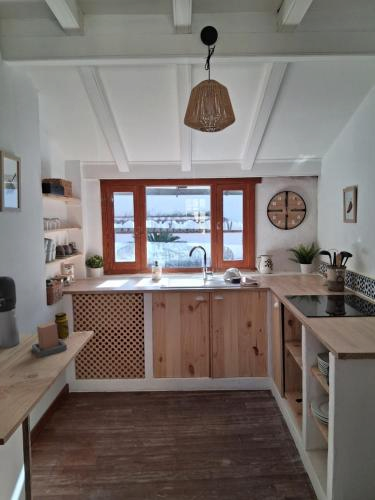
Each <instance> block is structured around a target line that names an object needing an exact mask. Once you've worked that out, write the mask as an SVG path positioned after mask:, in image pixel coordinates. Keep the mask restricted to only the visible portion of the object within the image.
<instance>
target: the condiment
mask: <svg viewBox="0 0 375 500" xmlns="http://www.w3.org/2000/svg"><path fill="white" fill-rule="evenodd" d="M54 317H55V318H54V319H55V320H54V323H56V324H57V333H58V338H59V339H63V340H65V339H64V338H66V339H68V338H67V337H69V335H70V329H69V320H68V319H69V318H68V316H67V313H66V312H58V313H56V314H55V315H54ZM70 336H71V337H70V338H72V337H73V335H70Z"/></svg>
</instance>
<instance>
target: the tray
mask: <svg viewBox="0 0 375 500" xmlns="http://www.w3.org/2000/svg"><path fill="white" fill-rule="evenodd" d="M58 342H59V346H58V347H54V348H51V349H47V350H43V351H41V350H40V349H39V342H37V343H35V344H34V343H33V344H31V348H32V351H33V352H34V354H36V355H37V356H38V358H41V357H42V358H43V357H45V356H49V355H52V354H56V353H61V352H63V351H68V346H67V344H66V343H65V342H64V341H63V340H60V339H59V338H58Z"/></svg>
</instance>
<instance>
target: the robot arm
mask: <svg viewBox="0 0 375 500" xmlns="http://www.w3.org/2000/svg"><path fill="white" fill-rule="evenodd" d="M16 304H17V289H16V282H15V280H14V279H13V277H11V276H8V275H7V276H1V275H0V348H1V349H4V348H12V347H14V346H18V345H19V344H20V343H21V341H20V330H19V324H18V322H19V321H18V315H17V308H16Z"/></svg>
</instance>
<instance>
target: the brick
mask: <svg viewBox="0 0 375 500" xmlns="http://www.w3.org/2000/svg"><path fill="white" fill-rule="evenodd" d="M36 330H37V338H38V343H39V349H40V350H41V351H43V350H47V349H51V348H54V347H58V346H59V342H58V333H57V324H56V323H55V322H52V321H50V322H48V323H43V324H41V325H40V324H39V325H38V326H36Z"/></svg>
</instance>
